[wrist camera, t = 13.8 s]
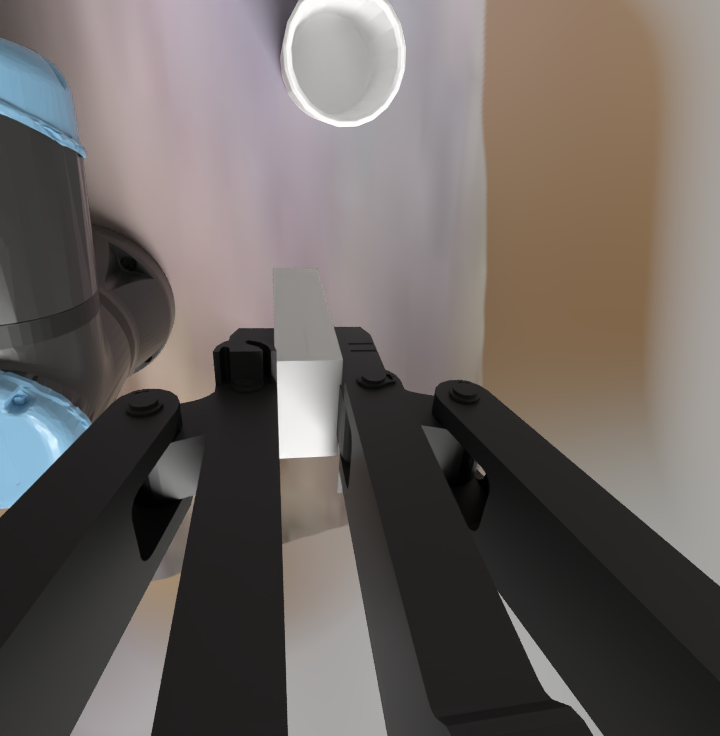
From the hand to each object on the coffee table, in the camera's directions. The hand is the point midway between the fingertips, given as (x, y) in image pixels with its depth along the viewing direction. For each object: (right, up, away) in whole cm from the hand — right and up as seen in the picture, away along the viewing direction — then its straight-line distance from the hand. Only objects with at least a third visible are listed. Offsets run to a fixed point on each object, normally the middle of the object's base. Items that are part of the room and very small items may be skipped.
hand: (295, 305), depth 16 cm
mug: (0, +25, +22) cm, 33 cm away
